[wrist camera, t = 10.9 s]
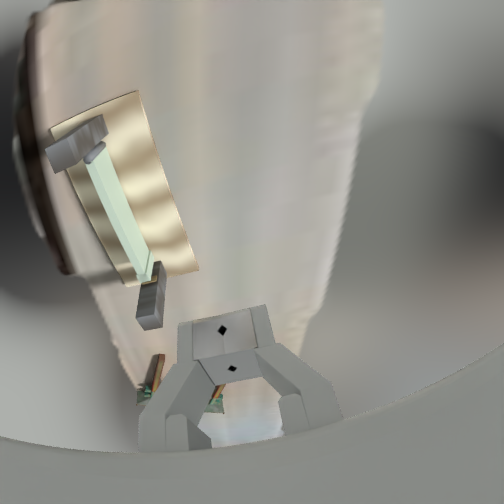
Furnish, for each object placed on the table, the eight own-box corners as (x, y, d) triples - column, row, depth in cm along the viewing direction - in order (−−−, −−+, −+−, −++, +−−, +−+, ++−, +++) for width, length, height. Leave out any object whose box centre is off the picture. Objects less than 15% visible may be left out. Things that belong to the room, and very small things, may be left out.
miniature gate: (250, 374, 71) (218, 422, 85) (246, 357, 76) (216, 408, 89) (142, 362, 62) (135, 414, 76) (144, 344, 67) (135, 399, 80)
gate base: (53, 126, 33) (6, 158, 22) (138, 90, 33) (110, 105, 22) (127, 283, 52) (116, 339, 42) (198, 266, 52) (200, 324, 42)
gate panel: (94, 143, 35) (80, 156, 30) (105, 138, 35) (92, 151, 30) (144, 260, 48) (140, 283, 43) (154, 257, 48) (150, 280, 43)
